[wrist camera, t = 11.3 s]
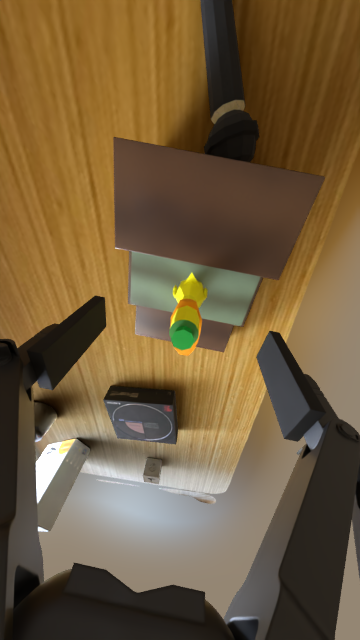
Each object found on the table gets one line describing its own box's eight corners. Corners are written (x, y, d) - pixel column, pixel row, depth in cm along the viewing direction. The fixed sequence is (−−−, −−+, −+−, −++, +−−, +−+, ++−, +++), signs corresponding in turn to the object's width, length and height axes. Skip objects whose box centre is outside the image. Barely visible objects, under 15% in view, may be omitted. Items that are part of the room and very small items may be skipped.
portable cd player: (123, 425, 56) (118, 439, 53) (110, 386, 47) (103, 399, 44) (178, 430, 54) (176, 445, 51) (175, 390, 45) (172, 405, 42)
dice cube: (161, 459, 64) (158, 477, 60) (161, 466, 67) (158, 484, 62) (147, 457, 64) (143, 475, 60) (148, 464, 67) (144, 481, 63)
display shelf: (152, 167, 24) (112, 136, 14) (274, 191, 24) (326, 176, 14) (141, 322, 37) (116, 366, 26) (222, 339, 36) (228, 389, 26)
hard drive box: (76, 437, 63) (28, 521, 46) (91, 448, 66) (52, 532, 49) (47, 444, 68) (-6, 522, 51) (63, 454, 71) (18, 532, 54)
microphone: (184, -58, 18) (217, 187, 25) (150, -155, 13) (203, 179, 20) (244, -128, 15) (262, 169, 22) (228, -280, 10) (257, 156, 18)
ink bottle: (25, 397, 54) (-17, 440, 44) (55, 403, 54) (20, 448, 44) (33, 416, 59) (-3, 459, 49) (60, 422, 59) (30, 467, 49)
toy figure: (203, 314, 25) (201, 387, 15) (176, 311, 25) (156, 382, 15) (209, 262, 21) (213, 311, 11) (178, 260, 22) (154, 305, 11)
